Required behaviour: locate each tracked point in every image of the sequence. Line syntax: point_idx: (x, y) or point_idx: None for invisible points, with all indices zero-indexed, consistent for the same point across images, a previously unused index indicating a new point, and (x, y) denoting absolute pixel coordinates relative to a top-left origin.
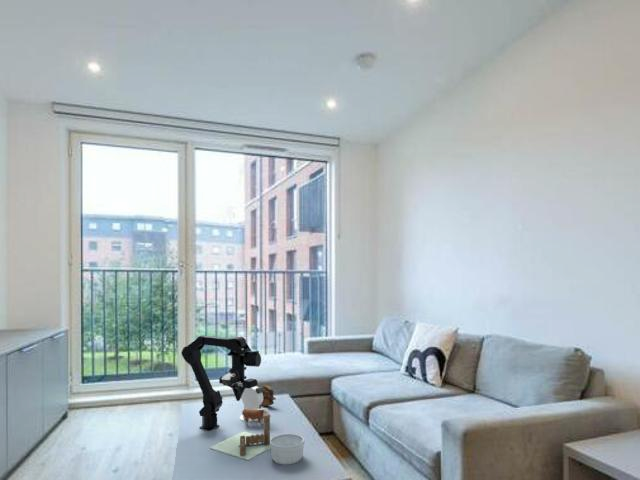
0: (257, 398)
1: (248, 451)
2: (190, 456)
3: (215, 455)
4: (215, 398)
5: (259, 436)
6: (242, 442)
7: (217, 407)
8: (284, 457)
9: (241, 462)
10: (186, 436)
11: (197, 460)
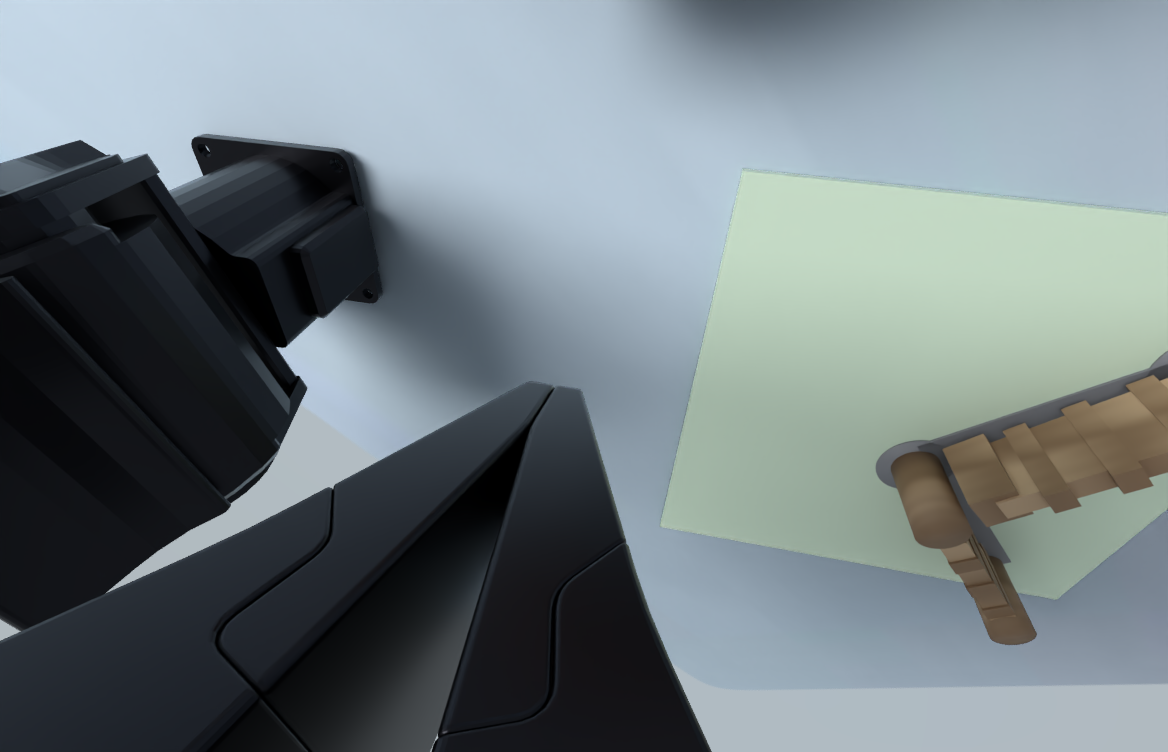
0: None
1: (1014, 522)
2: None
3: (767, 575)
4: (104, 501)
5: (1156, 466)
6: (983, 593)
7: (243, 366)
8: None
9: None
10: (353, 427)
11: (702, 618)
